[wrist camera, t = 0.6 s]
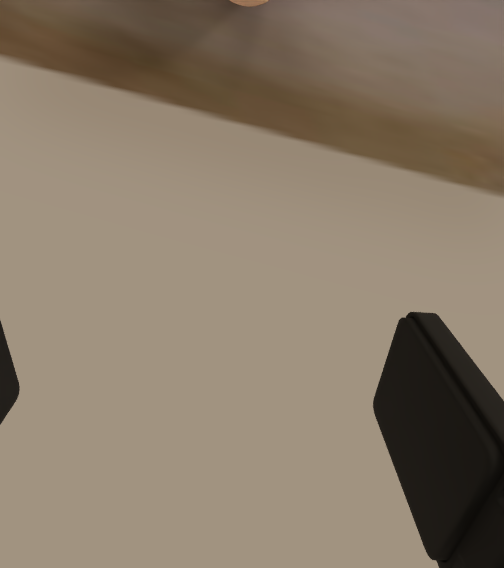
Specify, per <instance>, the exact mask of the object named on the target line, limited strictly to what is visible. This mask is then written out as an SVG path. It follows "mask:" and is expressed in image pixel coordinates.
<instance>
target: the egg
mask: <svg viewBox="0 0 504 568" xmlns="http://www.w3.org/2000/svg"><path fill="white" fill-rule="evenodd" d="M230 1H231V2H233V3H236V4H238V5H241V6H248V7H252V6H258V5H261V4H264V3H266V2H267V1H269V0H230Z"/></svg>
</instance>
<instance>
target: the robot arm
mask: <svg viewBox="0 0 504 568" xmlns="http://www.w3.org/2000/svg"><path fill="white" fill-rule="evenodd" d="M18 395H19V382H18V379H17V375H16V372H15V368H14V365H13V362H12V358H11V355H10V352H9V348H8V345H7V341H6V338H5V335H4V332H3V328H2V324H1V321H0V424H1V423H2V421H3V420H4V418H5V416H6V415H7V413H8V412H9V411H10V409H11V408H12V406H13V405H14V403H15V402H16V400H17V397H18ZM373 408H374V413H375V416H376V419H377V421H378V424H379V427H380V430H381V432H382V435H383V438H384V441H385V443H386V446H387V449H388V451H389V454H390V456H391V459H392V462H393V465H394V467H395V470H396V473H397V475H398V478H399V481H400V483H401V486H402V489H403V491H404V494H405V496H406V499H407V502H408V505H409V507H410V510H411V513H412V515H413V518H414V521H415V523H416V526H417V529H418V531H419V534H420V537H421V540H422V542H423V545H424V547H425V550H426V552H427V554H428V556H429V557H430V558H431V559H432V560H436V561H437V563H438V566H439V568H504V401H503V399H502V398H501V397H500V396H499V394H498V393H497V392H496V390H495V389H494V388H493V386H492V385H491V384H490V383H489V381H488V380H487V379H486V377H485V376H484V375H483V373H482V372H481V371H480V370H479V368H478V367H477V366H476V364H475V363H474V362H473V360H472V359H471V358H470V357H469V355H468V354H467V353H466V351H465V350H464V349H463V347H462V346H461V345H460V343H459V342H458V341H457V340H456V338H455V337H454V335H453V334H452V333H451V332H450V330H449V329H448V328H447V326H446V325H445V324H444V322H443V321H442V320H441V319H440V317H439V316H438V315H437V314H435V313H421V312H410V313H408V315H407V316H406V318H401V319H400V320H399V322H398V325H397V328H396V331H395V334H394V337H393V340H392V343H391V347H390V350H389V353H388V356H387V359H386V362H385V365H384V368H383V372H382V375H381V378H380V381H379V384H378V387H377V390H376V394H375V397H374V401H373Z"/></svg>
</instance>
